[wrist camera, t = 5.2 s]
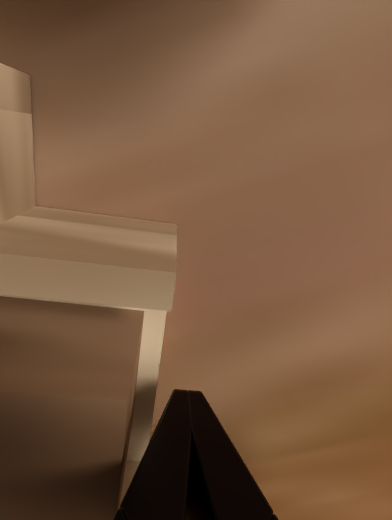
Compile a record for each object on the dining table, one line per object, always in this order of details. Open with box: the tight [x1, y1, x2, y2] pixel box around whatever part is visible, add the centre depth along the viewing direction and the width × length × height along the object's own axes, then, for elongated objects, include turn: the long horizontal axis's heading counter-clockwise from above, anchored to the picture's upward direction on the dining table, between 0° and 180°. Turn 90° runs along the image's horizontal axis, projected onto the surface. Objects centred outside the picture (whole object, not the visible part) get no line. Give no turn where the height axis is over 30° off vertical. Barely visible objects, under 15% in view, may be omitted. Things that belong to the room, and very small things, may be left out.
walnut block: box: [0, 296, 144, 520], centre depth 7 cm, size 4×5×3 cm
